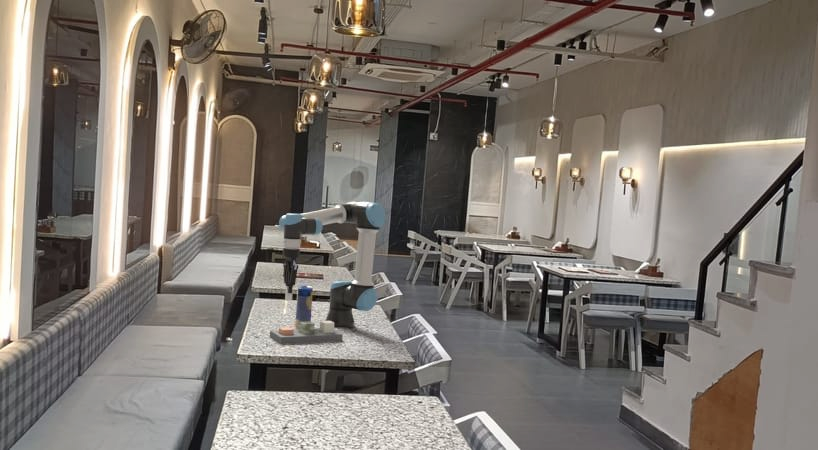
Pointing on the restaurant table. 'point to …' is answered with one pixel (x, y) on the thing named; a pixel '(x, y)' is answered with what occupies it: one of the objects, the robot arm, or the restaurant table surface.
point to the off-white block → (326, 326)
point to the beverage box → (303, 305)
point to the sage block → (307, 327)
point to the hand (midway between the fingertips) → (288, 300)
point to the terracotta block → (286, 331)
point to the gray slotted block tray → (305, 337)
